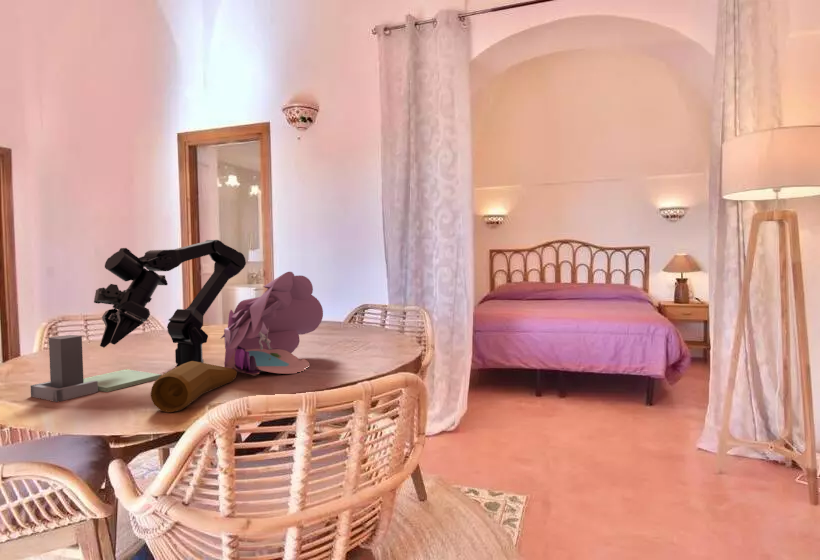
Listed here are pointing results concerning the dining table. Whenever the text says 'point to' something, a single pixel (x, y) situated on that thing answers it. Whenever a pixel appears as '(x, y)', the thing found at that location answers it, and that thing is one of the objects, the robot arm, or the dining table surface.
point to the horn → (188, 384)
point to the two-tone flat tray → (93, 385)
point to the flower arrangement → (272, 327)
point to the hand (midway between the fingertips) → (107, 345)
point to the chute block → (66, 361)
